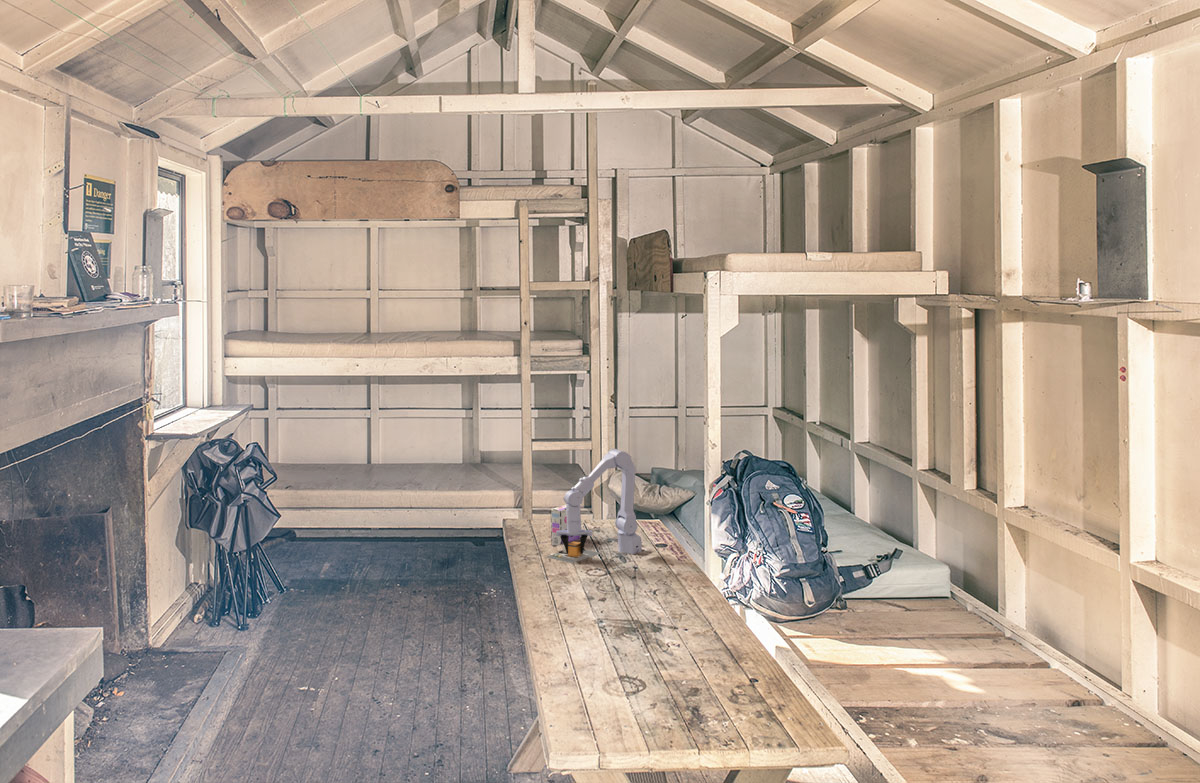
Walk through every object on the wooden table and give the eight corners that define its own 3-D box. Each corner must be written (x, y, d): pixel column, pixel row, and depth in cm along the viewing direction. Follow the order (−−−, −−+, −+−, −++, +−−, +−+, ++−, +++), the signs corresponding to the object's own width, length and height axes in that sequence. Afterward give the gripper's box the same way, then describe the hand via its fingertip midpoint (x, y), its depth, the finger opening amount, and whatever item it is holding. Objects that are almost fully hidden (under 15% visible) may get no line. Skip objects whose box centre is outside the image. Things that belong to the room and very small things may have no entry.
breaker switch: (572, 552, 388) (572, 545, 387) (568, 553, 386) (568, 546, 386) (566, 550, 390) (566, 543, 390) (562, 552, 388) (562, 545, 388)
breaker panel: (602, 556, 386) (602, 550, 386) (572, 566, 372) (572, 560, 372) (575, 550, 396) (574, 544, 396) (545, 560, 383) (544, 554, 382)
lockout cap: (581, 554, 380) (581, 542, 380) (576, 557, 377) (576, 545, 376) (573, 553, 382) (572, 541, 382) (568, 556, 379) (567, 543, 378)
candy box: (561, 547, 402) (560, 510, 400) (551, 546, 405) (549, 508, 404) (581, 540, 413) (580, 504, 411) (570, 539, 416) (569, 502, 415)
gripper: (592, 517, 381) (593, 550, 382) (557, 518, 383) (558, 550, 384) (590, 522, 374) (591, 555, 376) (554, 522, 376) (556, 555, 377)
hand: (574, 553), depth 379 cm, fingers closed on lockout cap, 5 cm apart
